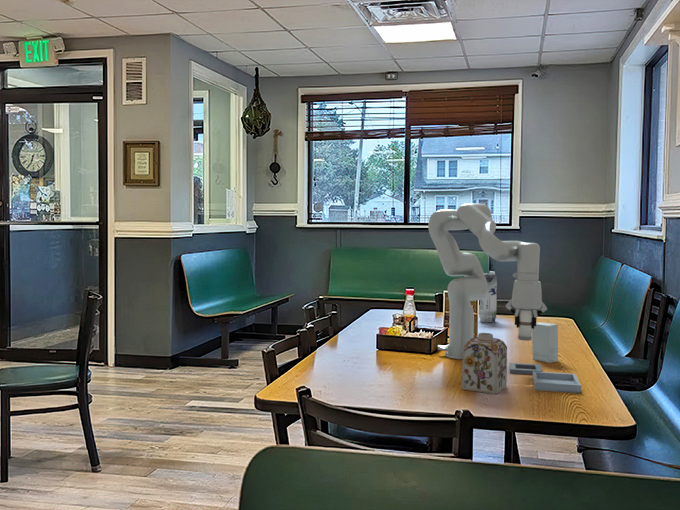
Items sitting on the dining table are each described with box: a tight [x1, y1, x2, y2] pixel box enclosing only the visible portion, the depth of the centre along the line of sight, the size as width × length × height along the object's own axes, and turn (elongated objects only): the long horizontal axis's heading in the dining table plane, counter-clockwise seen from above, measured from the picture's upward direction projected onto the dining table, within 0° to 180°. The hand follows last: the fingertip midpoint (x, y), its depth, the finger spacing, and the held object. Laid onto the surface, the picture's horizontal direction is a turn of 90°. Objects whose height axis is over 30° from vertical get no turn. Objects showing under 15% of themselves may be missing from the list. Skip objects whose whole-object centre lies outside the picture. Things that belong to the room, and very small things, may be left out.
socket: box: [509, 362, 544, 376], centre depth 240 cm, size 11×14×2 cm
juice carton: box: [478, 270, 498, 323], centre depth 354 cm, size 9×10×27 cm
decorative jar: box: [461, 332, 508, 395], centre depth 215 cm, size 12×12×18 cm
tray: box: [532, 371, 582, 394], centre depth 220 cm, size 14×16×2 cm
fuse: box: [517, 309, 534, 342], centre depth 238 cm, size 5×5×12 cm
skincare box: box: [531, 321, 559, 363], centre depth 257 cm, size 8×6×15 cm
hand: (525, 327), depth 238 cm, fingers closed on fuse, 4 cm apart
